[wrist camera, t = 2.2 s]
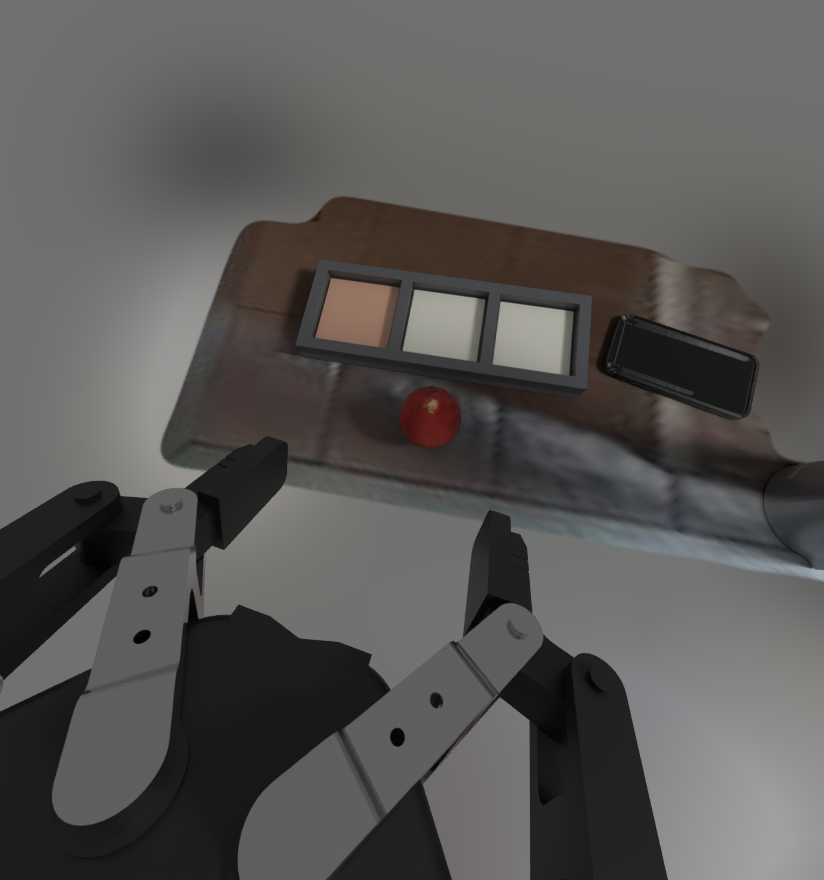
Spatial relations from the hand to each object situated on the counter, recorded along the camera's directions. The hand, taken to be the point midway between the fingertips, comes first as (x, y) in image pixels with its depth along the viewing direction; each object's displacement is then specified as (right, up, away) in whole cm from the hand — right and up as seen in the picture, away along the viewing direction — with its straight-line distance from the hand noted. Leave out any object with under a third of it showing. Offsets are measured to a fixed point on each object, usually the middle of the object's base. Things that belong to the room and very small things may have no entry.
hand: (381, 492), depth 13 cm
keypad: (+5, +14, +26) cm, 30 cm away
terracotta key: (-5, +16, +26) cm, 31 cm away
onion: (+3, +3, +24) cm, 24 cm away
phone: (+30, +10, +25) cm, 41 cm away
